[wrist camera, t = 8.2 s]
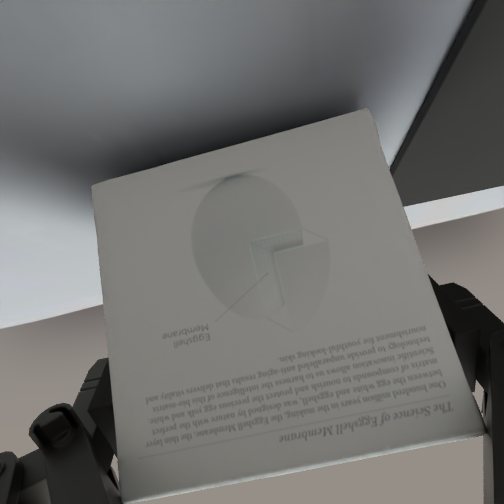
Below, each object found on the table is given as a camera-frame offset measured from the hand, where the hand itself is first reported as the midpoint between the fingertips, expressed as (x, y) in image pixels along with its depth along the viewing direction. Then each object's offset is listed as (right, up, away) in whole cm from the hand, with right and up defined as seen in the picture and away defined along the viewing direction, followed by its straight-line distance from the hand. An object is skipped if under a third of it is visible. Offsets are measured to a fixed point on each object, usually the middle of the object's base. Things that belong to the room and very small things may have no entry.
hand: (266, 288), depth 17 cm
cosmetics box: (-1, +5, -1) cm, 5 cm away
